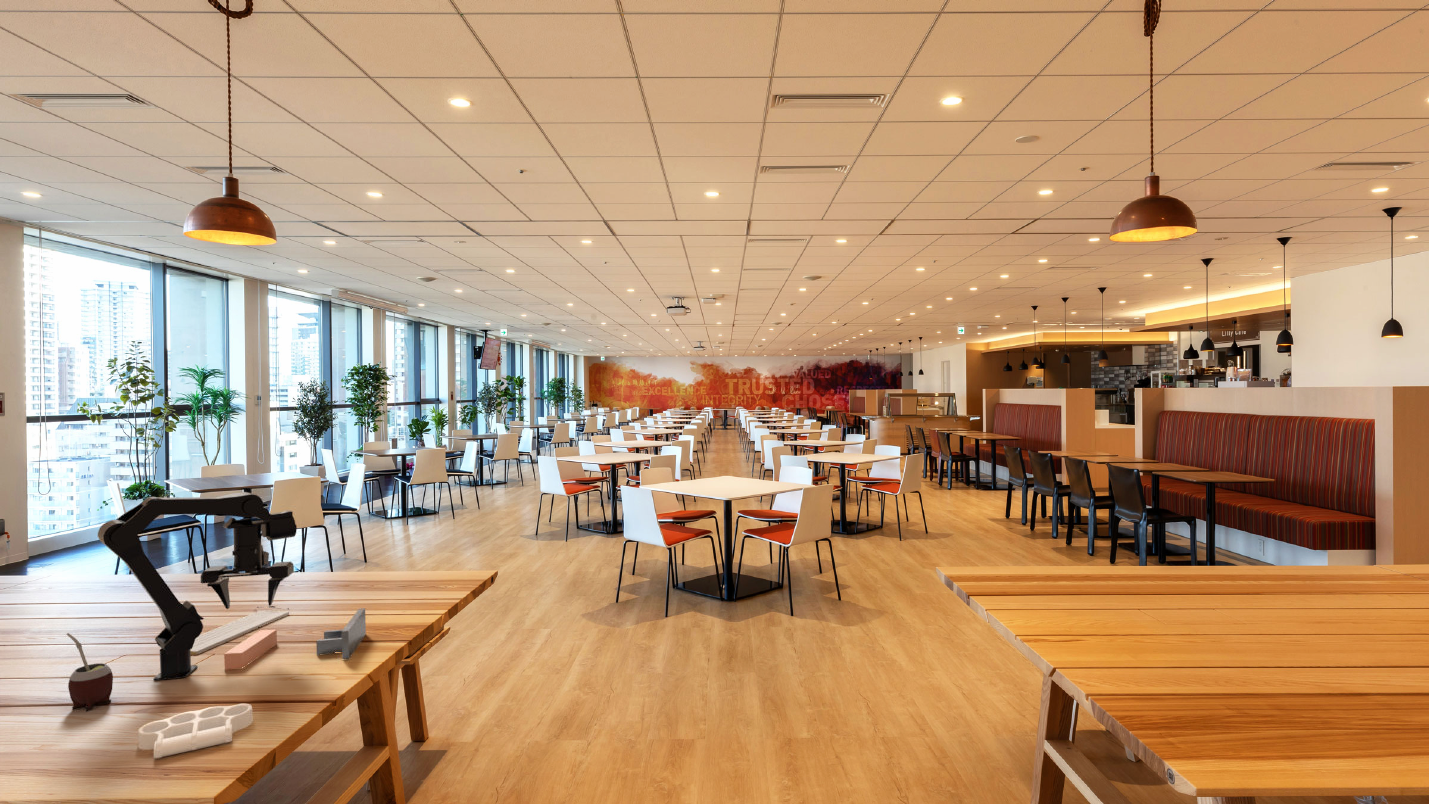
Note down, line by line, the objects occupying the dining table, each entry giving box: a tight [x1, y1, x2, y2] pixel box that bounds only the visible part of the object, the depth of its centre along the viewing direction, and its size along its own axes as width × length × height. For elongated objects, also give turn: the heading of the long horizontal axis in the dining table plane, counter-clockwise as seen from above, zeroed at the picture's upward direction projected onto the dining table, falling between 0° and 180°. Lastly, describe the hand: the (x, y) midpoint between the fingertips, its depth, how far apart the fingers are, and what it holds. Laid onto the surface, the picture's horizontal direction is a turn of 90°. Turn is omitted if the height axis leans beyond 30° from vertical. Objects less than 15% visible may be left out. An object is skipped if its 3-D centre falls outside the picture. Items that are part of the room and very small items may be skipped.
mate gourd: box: [66, 632, 114, 712], centre depth 153 cm, size 8×8×15 cm
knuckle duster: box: [137, 703, 254, 759], centre depth 140 cm, size 3×18×15 cm
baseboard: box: [190, 605, 290, 656], centre depth 197 cm, size 31×3×12 cm
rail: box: [223, 629, 278, 670], centre depth 180 cm, size 16×4×4 cm, turn 5°
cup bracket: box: [315, 607, 367, 660], centre depth 185 cm, size 18×8×7 cm, turn 14°
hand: (249, 606), depth 180 cm, fingers open, 9 cm apart
